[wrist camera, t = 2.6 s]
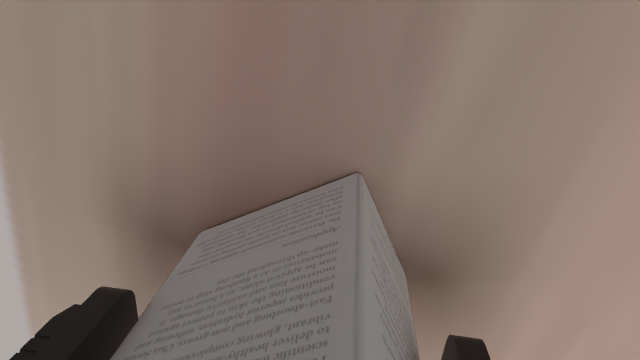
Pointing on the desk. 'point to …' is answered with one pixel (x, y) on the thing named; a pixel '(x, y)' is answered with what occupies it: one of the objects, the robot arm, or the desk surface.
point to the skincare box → (285, 287)
